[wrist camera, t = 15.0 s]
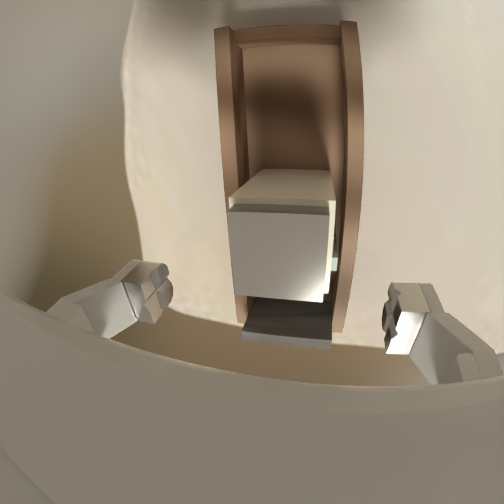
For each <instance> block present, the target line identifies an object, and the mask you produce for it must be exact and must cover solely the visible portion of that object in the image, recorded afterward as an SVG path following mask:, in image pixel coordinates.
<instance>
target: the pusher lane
mask: <svg viewBox="0 0 504 504" xmlns="http://www.w3.org/2000/svg"><path fill="white" fill-rule="evenodd" d="M214 39H215V60H216V78H217V95H218V111H219V126H220V140H221V153H222V166H223V179H224V191H225V202H226V213H227V211H228V210H229V197H230V196H231V195H232V194H233V193H235V192H236V191H237V190H238V189H239V188H240V187H242V186H243V185H244V184H245V183H246V182H248V181H249V180H250V179H251V178H252V177H254V176H255V175H256V174H257V173H258V172H260V171H261V170H262V169H305V170H330V171H331V176H332V182H333V187H334V193H335V199H336V209H335V226H334V237H336V241H337V253H338V262H337V271H331V273H330V282H329V291H328V293H323V302H312V301H299V300H287V299H275V298H265V297H254V296H245V295H235V304H236V313H237V321H238V323H245V324H244V327H243V329H242V339H243V340H247V341H254V342H262V343H270V344H279V345H288V346H297V347H308V348H322V349H330V346H331V341H332V332H339V333H342V331H343V327H344V322H345V317H346V312H347V306H348V301H349V295H350V289H351V283H352V277H353V270H354V263H355V256H356V248H357V240H358V231H359V221H360V210H361V198H362V182H363V160H364V102H363V80H362V66H361V55H360V45H359V36H358V28H357V22H353V21H340V26H338V25H280V26H266V27H256V28H248V29H240V30H232V29H231V28H230V27H229V26H227V27H222V28H216V29H214ZM227 224H228V218H227ZM228 235H229V229H228ZM229 246H230V239H229ZM230 256H231V249H230ZM231 266H232V259H231ZM232 275H233V269H232ZM233 285H234V279H233ZM234 294H235V288H234Z"/></svg>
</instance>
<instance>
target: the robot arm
mask: <svg viewBox="0 0 504 504" xmlns="http://www.w3.org/2000/svg"><path fill="white" fill-rule="evenodd" d="M168 275H169V271H168V267H167V266H166V265H165V264H164V263H156V262H149V261H141V260H132V261H130V262H129V263H128V264H127V265H126V266H125V267H124V268H122V269H121V270H120V271H119V272H118V273H117V274H116V275H115V276H114V277H113V278H111V279H110V280H108V279H107V280H105V281H102V282H100V283H97V284H95V285H92V286H90V287H87V288H85V289H82V290H80V291H77V292H75V293H72V294H70V295H68V296H66V297H63V298H61V299H60V300H59V301H58V302H57V303H56V304H54V305H53V306H52V307H51V308H50V309H49V310H48V311H47V312H46V313H44V312H42V311H40V310H38V309H36V308H34V307H32V306H30V305H28V304H26V303H24V302H22V301H20V300H18V299H16V298H14V297H13V296H11V295H9V294H7V293H5V292H0V504H504V375H503V372H502V369H501V367H500V364H499V361H498V359H497V356H496V354H495V351H494V350H493V349H492V348H491V347H490V346H489V345H488V344H486V343H485V342H484V341H483V340H482V339H480V338H479V337H478V336H477V335H476V334H474V333H473V332H472V331H471V330H469V329H468V328H467V327H466V326H464V325H463V324H462V323H461V322H459V321H458V320H457V319H456V318H454V317H453V316H452V315H450V314H449V313H445V312H444V310H443V307H442V305H441V303H440V300H439V298H438V296H437V294H436V292H435V290H434V287H433V285H432V284H430V283H391V284H390V286H389V289H388V296H389V300H388V301H387V302H386V303H385V304H384V308H383V314H382V327H383V330H384V331H385V332H386V335H385V338H384V341H385V348H386V353H387V354H409V356H410V358H411V359H412V360H413V362H414V363H415V364H416V365H417V367H418V368H419V369H420V371H421V372H422V373H423V374H424V376H425V377H426V378H427V380H428V381H429V383H430V384H431V385H422V386H421V385H420V386H397V387H396V386H392V387H372V386H371V387H370V386H366V387H365V386H342V385H341V386H340V385H327V384H315V383H304V382H295V381H286V380H279V379H271V378H265V377H258V376H252V375H245V374H240V373H235V372H229V371H224V370H219V369H215V368H210V367H205V366H200V365H196V364H192V363H188V362H184V361H180V360H176V359H172V358H168V357H165V356H161V355H158V354H154V353H151V352H147V351H144V350H141V349H137V348H134V347H131V346H128V345H125V344H122V343H119V342H116V341H113V340H111V339H109V338H111V337H112V336H114V335H116V334H117V333H119V332H120V331H122V330H124V329H125V328H127V327H128V326H130V325H132V324H133V323H135V322H136V321H137V320H138V321H142V322H147V323H152V324H155V322H156V321H157V320H158V318H159V317H160V316H161V314H162V308H164V307H166V306H168V305H169V303H170V302H171V300H172V296H173V286H172V283H171V282H170V281H169V279H168V278H167V277H168Z"/></svg>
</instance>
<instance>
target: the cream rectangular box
mask: <svg viewBox="0 0 504 504" xmlns="http://www.w3.org/2000/svg"><path fill="white" fill-rule="evenodd" d="M335 209H336V199H335V193H334V187H333V182H332V176H331V171H330V170H305V169H262V170H261V171H260V172H258V173H257V174H256V175H255V176H254V177H252V178H251V179H250V180H249V181H248V182H246V183H245V184H244V185H243V186H242V187H240V188H239V189H238V190H237V191H236V192H235V193H233V194H232V195H231V196H230V197H229V210H228V211H227V218H228V229H229V239H230V249H231V259H232V269H233V279H234V288H235V295H245V296H254V297H265V298H275V299H287V300H299V301H312V302H323V293H328V291H329V282H330V273H331V263H332V252H333V240H334V226H335Z"/></svg>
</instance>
